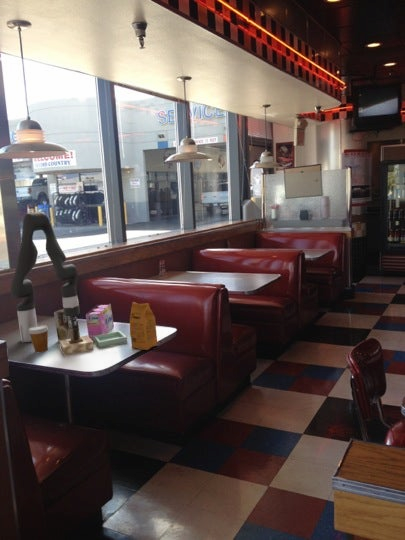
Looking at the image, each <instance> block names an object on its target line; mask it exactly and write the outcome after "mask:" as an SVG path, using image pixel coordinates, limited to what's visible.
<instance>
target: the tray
mask: <svg viewBox="0 0 405 540" xmlns="http://www.w3.org/2000/svg"><path fill="white" fill-rule="evenodd" d="M93 338H94V339H93V343H95V345H96V346H97V347H98V348H99V349H102V348H108V347H113V346H116V345H117V346H118V345H123V344H127V343H128V338H127V335H125V334H124V333H123V332H122V331H121V330H115V331H112V332H111V331H110V332H108V333H106V334H101V335H96V336H93Z"/></svg>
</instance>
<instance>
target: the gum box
mask: <svg viewBox="0 0 405 540" xmlns="http://www.w3.org/2000/svg"><path fill="white" fill-rule="evenodd" d="M85 319H86V327H87V336H88V337H89V338H90V339H91V340H94V338H93V336H96V335H101V334H106V333H110V332H111V330H113V328H115V326H114V317H113V312H112V305H111V303H109V304H100V303H99V304H97V305H95V307H93V308H92V309H90V310H89V311H88V312H87V313H86V314H85Z"/></svg>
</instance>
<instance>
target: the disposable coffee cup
mask: <svg viewBox="0 0 405 540" xmlns="http://www.w3.org/2000/svg"><path fill="white" fill-rule="evenodd" d="M48 331H49V328H48V326H47V325H45V324H43V325H42V324H40V325H37V326H34V327H31V328H29V331H28V332H29V334H30V336H31V340H32V341H31V343H32V346H33V349H34V353H37V352H39V353H44V352H46V351H48V350H49V347H48V346H49V343H48V342H49V341H48V340H49V339H48V338H49V336H48V335H49V334H48V333H49V332H48Z"/></svg>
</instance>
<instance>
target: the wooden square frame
mask: <svg viewBox="0 0 405 540" xmlns="http://www.w3.org/2000/svg"><path fill="white" fill-rule="evenodd" d="M80 340H81V342H78V343H73V344H71V339H66V340H61V341H59V347H60V350H61V351H62V354H63V355H64V356H69V355H73V354H78V353H84V352H88V351H94V349H95V347H94V340H93V339H90V338H89V336H88V334H87V335H83V336H82V335H80Z"/></svg>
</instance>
